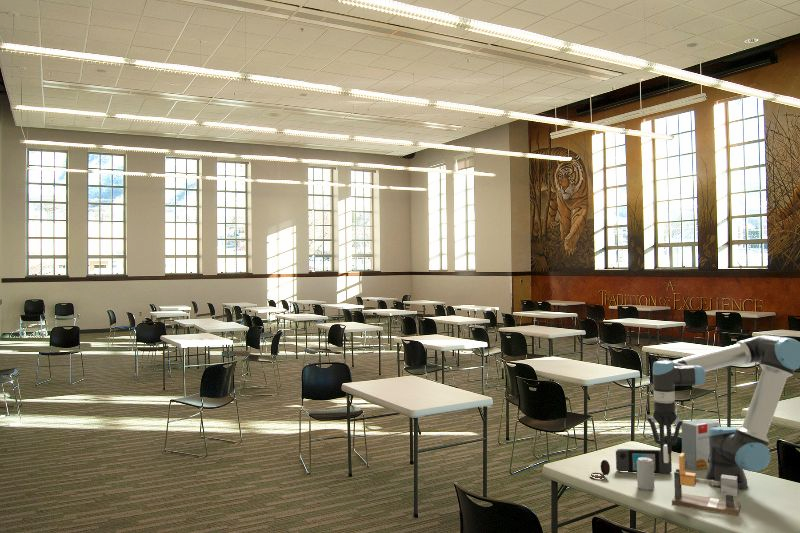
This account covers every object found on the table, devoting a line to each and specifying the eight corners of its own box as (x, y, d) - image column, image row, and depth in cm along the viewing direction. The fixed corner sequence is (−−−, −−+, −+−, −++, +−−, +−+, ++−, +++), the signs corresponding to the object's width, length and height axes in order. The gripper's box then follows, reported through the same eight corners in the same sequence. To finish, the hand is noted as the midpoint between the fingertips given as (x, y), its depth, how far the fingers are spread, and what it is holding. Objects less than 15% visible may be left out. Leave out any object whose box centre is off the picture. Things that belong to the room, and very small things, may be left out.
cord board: (676, 496, 236) (675, 465, 237) (740, 506, 224) (739, 474, 224) (671, 504, 228) (670, 472, 228) (738, 516, 216) (737, 482, 216)
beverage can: (637, 490, 244) (636, 460, 244) (637, 485, 250) (636, 456, 250) (654, 491, 241) (653, 461, 242) (654, 486, 248) (653, 457, 248)
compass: (587, 476, 262) (586, 459, 262) (603, 474, 264) (602, 457, 264) (597, 482, 254) (596, 465, 255) (613, 480, 256) (613, 463, 256)
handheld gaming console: (617, 473, 266) (616, 450, 266) (616, 471, 268) (615, 448, 269) (672, 474, 262) (671, 451, 262) (670, 472, 264) (669, 449, 264)
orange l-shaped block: (682, 481, 233) (681, 452, 233) (696, 483, 230) (695, 454, 230) (679, 485, 229) (678, 456, 229) (694, 487, 226) (693, 458, 226)
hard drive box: (696, 471, 265) (694, 425, 266) (681, 466, 272) (680, 422, 273) (720, 465, 272) (719, 421, 272) (706, 461, 279) (704, 418, 279)
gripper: (644, 401, 235) (646, 462, 234) (680, 404, 228) (683, 467, 227) (648, 398, 241) (650, 457, 241) (684, 401, 234) (686, 461, 233)
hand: (666, 462), depth 234 cm, fingers closed
